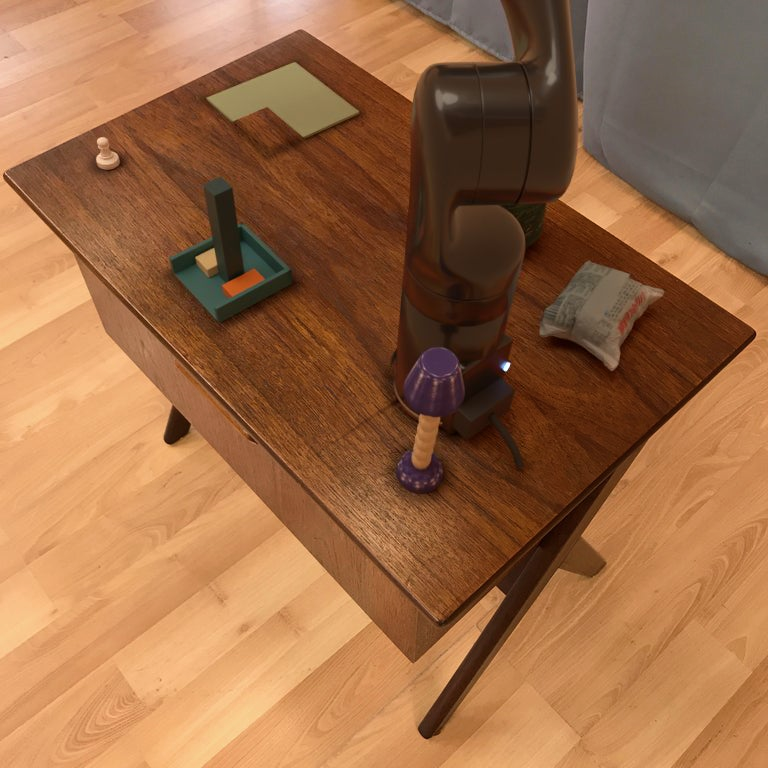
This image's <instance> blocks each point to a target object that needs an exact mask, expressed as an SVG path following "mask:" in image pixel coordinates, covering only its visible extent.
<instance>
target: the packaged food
mask: <svg viewBox="0 0 768 768" xmlns="http://www.w3.org/2000/svg"><path fill="white" fill-rule="evenodd" d="M631 276H632V274H630V273H627V272H625V271H622V270H619V269H615V268H612V267H608V266H605V265H602V264H598V263H595V262H592V261H591V260H587V261H585V262H584V263H583V264H582V265H581V267H580V268H579V269H578V270H577V272H576V273H575V274H574V275H573V276H572V278H571V279H570V281H569V282H568V283H567V285H566V286H565V287H564V289H563V290H562V291H561V292H560V294H559V295H558V296H557V298H556V299H555V301H553V303H551V304H549V305H548V306H547V307H546V308H544V310H543V313H542V315H541V316H540V322H539V333H538V334H539V337H542V338H547V337H554V338H559V339H564V340H568V341H572V343H575V344H577V345H578V346H580V347H581V348H584V349H585V350H586V351H588V352H589V353H590V354H592V355H593V356H595V357H596V358H597V359H598V360H600V361H601V362H602V363H603V365H604V366H605V367H606V368H607V369H608V370H609V371H611V372H613V371H615V370H616V369H617V368H618V366H619V364H620V358H621V346H622V344H623V343H624V341H625V340H626V339H627V337H628V336H629V334H630V332H631V331H632V328H633V326H634V323H635V321H637V320H638V319H639V318H641V316H642V315H643V314H644V313H645V311H646V310H647V309H648V307H650V306H651V305H652V304H653V303H655V302H656V301H657V300H659V299H660V298H662V297H663V296H664V294H665V291H664V289H661V288H657V287H653V286H650V285H646V284H645V285H644V284H643V283H642V282H640V281H636V280H634V279H632V278H631Z"/></svg>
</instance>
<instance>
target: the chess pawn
mask: <svg viewBox="0 0 768 768" xmlns="http://www.w3.org/2000/svg"><path fill="white" fill-rule="evenodd" d="M96 144H97V148H98V149H99V150H100V152H99V154H97V155H96V157H95V161H96V165H97V167H98V168H99V169H102V170H105V171H111V170H113V169H115V168H117V167H118V166H119V165H120V163H121V160H120V157H119V155H118V153H116V152H115V151H112V150H111V149H110V148H109V147H110V143H109V139H108V138H107V137H104V136H101V137H99V138H97V140H96Z"/></svg>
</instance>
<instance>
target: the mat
mask: <svg viewBox="0 0 768 768" xmlns="http://www.w3.org/2000/svg"><path fill="white" fill-rule="evenodd" d="M206 101H207V102H208V103H209V104H210V105H212V106H213V107H214V109H216V110H217V111H218V112H220V114H222V115H223V117H225V118H226V119H228V121H229V122H231V123H233V122H235V121H238V120H239V119H242V118H245V117H248V116H249V115H251V114H254V113H256V112H258V111H259V112H260V111H261V110H263V109H266V108H267V109H269V110H270V111H271V112H272V113H274V114H275V115H276V116H277V117H278V118H279V119H281V120H282V121H283V122H284V123H286V124H287V125H288V126H289V127H290V128H291V129H293V130H294V131H295V132H296V133H298V134H299V135H300V136H301V137H302V138H304V139H307V138H310V137H312V136H314V135H317V134H318V133H320V132H323V131H325V130H328V129H329V128H332V127H334V126H336V125H338V124H340V123H343V122H345V121H347V120H350V119H351V118H353V117H356V116H358V115H360V111H359V110H358V109H357V108H356V107H354V106H353V105H352V104H350V103H349V101H348V102H347V101H346V100H345V99H344V98H343V97H342V96H339V94H338V93H336V92H335V91H334V90H332V89H331V88H330V87H328V85H325V84H324V83H323V82H321V81H320V80H319V79H318V78H317V77H315V76H314V75H313V74H311V73H310V72H309V71H308V70H306V69H305V68H304V67H302V66H301V65H300V64H298V63H297V62H296V61H294V62H291V63H289V64H287V65H284V66H281V67H279V68H276V69H274V70H272V71H268V72H267V73H263V74H261V75H259V76H257V77H254V78H252V79H249V80H246V81H243V82H242V83H239V84H237V85H235V86H234V85H233V86H232V87H229V88H227V89H224V90H221V91H219V92H217V93H215V94H212V95H210V96H207V97H206Z"/></svg>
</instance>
